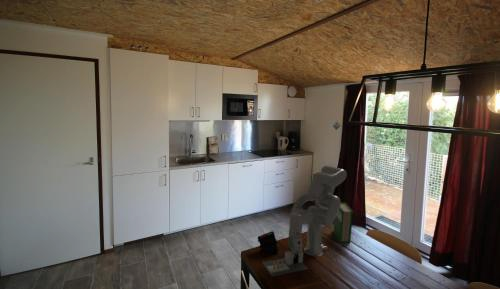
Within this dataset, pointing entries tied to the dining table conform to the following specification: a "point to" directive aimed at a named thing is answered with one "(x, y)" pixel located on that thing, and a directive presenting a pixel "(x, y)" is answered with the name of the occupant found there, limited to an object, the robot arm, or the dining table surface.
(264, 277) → the dining table surface
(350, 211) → the hardback book
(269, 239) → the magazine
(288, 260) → the plug
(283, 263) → the board
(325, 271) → the dining table surface
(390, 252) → the dining table surface
